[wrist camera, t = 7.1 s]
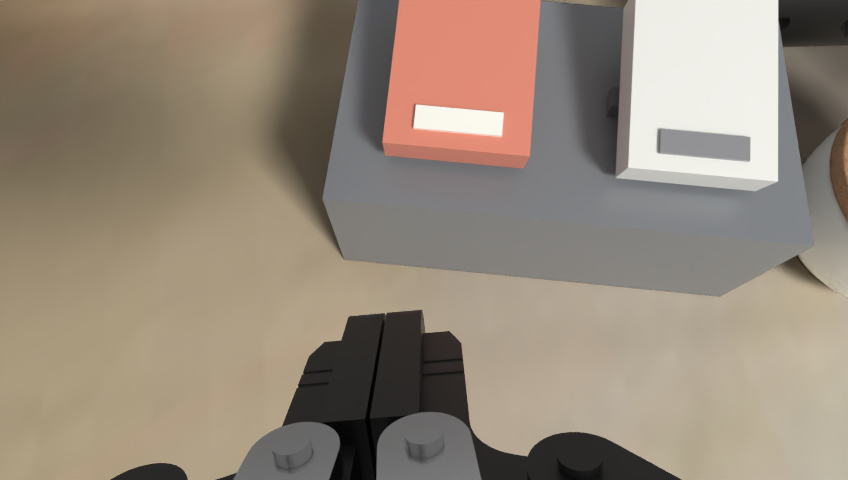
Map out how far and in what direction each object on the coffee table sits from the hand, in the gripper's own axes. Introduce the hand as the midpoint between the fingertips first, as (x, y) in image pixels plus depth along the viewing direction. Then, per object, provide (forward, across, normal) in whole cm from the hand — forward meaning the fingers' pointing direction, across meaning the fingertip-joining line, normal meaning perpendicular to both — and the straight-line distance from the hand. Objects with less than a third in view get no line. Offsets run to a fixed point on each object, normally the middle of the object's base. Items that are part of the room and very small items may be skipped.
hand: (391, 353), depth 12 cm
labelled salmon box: (+16, -3, -4) cm, 17 cm away
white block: (+16, -12, -3) cm, 20 cm away
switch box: (+23, -7, +2) cm, 24 cm away
